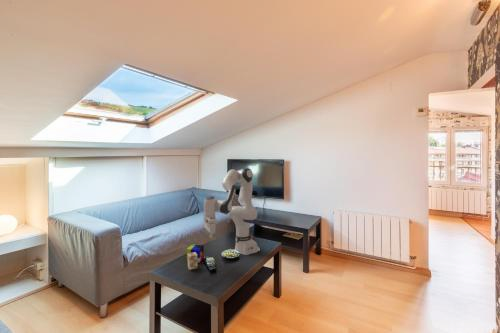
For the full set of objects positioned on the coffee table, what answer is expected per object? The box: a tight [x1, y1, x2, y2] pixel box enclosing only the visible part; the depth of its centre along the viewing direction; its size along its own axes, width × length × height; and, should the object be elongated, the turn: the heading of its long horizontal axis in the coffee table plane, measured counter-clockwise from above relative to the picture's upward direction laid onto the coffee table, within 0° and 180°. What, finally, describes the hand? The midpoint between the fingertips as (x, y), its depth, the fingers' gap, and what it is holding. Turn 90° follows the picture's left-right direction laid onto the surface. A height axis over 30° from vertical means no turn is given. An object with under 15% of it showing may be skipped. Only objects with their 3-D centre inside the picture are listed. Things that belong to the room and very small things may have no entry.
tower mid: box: [187, 252, 198, 263], centre depth 188 cm, size 6×6×5 cm
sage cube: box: [205, 257, 215, 265], centre depth 192 cm, size 5×5×5 cm
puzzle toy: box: [186, 243, 205, 264], centre depth 202 cm, size 10×10×10 cm
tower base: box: [187, 261, 198, 271], centre depth 188 cm, size 6×6×5 cm
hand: (209, 236), depth 192 cm, fingers open, 8 cm apart
